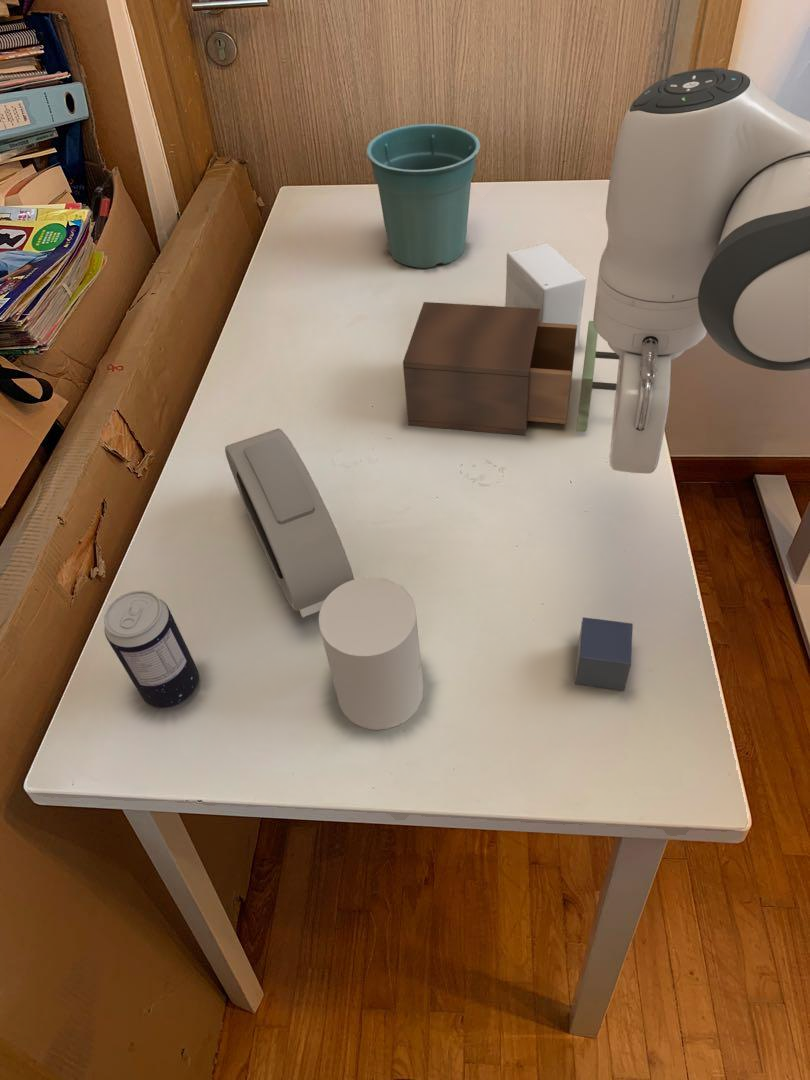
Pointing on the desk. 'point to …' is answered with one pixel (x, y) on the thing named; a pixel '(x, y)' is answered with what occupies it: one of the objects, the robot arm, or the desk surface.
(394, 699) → the white solid cylinder
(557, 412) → the drawer
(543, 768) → the desk surface
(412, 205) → the flower pot
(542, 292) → the cosmetics box
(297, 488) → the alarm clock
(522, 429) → the cabinet
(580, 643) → the block
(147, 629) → the beverage can
